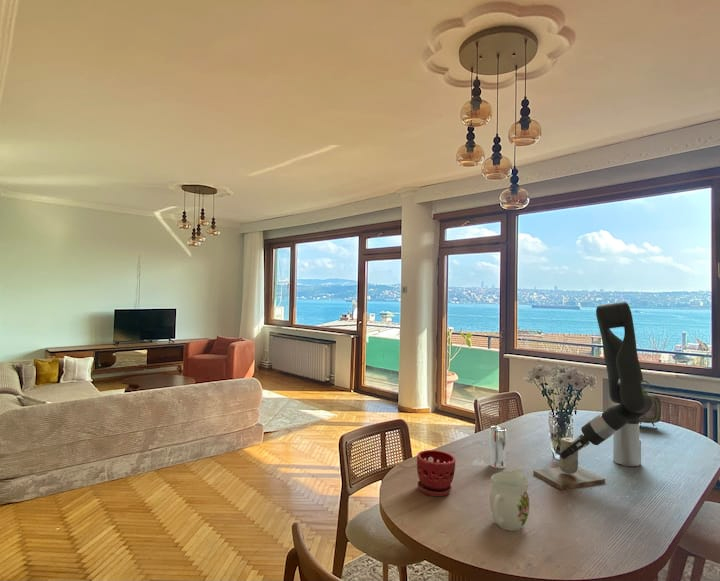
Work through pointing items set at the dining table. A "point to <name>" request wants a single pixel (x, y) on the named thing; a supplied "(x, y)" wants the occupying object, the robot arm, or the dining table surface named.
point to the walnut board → (568, 478)
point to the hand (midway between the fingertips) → (564, 454)
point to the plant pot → (435, 472)
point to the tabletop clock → (654, 412)
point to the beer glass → (498, 446)
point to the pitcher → (509, 499)
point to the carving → (571, 461)
